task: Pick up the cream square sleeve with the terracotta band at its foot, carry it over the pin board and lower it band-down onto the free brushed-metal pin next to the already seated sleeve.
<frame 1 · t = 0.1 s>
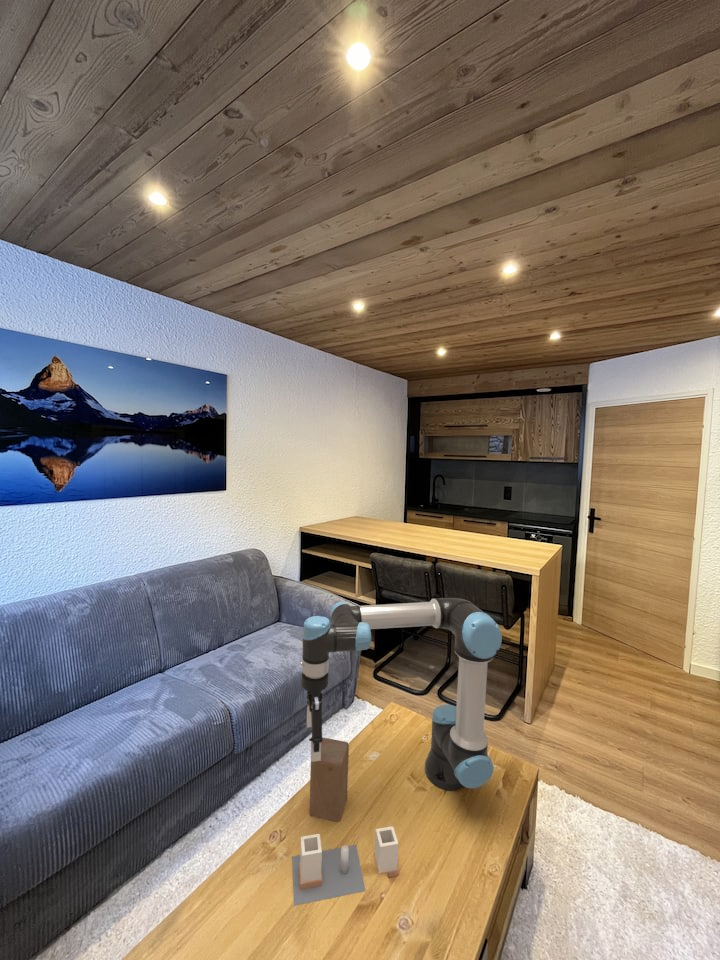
hand: (313, 742, 116), 28 cm above the table, fingers open, 13 cm apart
sleeve b: (310, 876, 104), point 1 cm above the table, touching pin board
wooden block: (328, 810, 125), on the table
sleeve a: (385, 866, 109), on the table
pin board: (327, 878, 105), on the table
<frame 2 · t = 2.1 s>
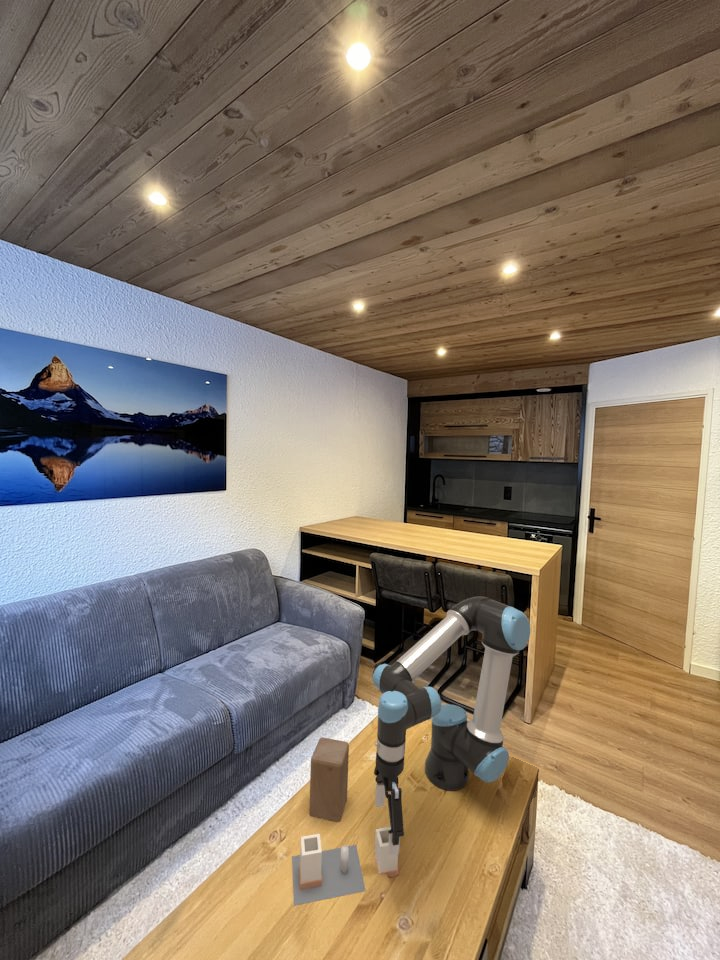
hand: (386, 827, 107), 12 cm above the table, fingers open, 13 cm apart
nothing on the table moved.
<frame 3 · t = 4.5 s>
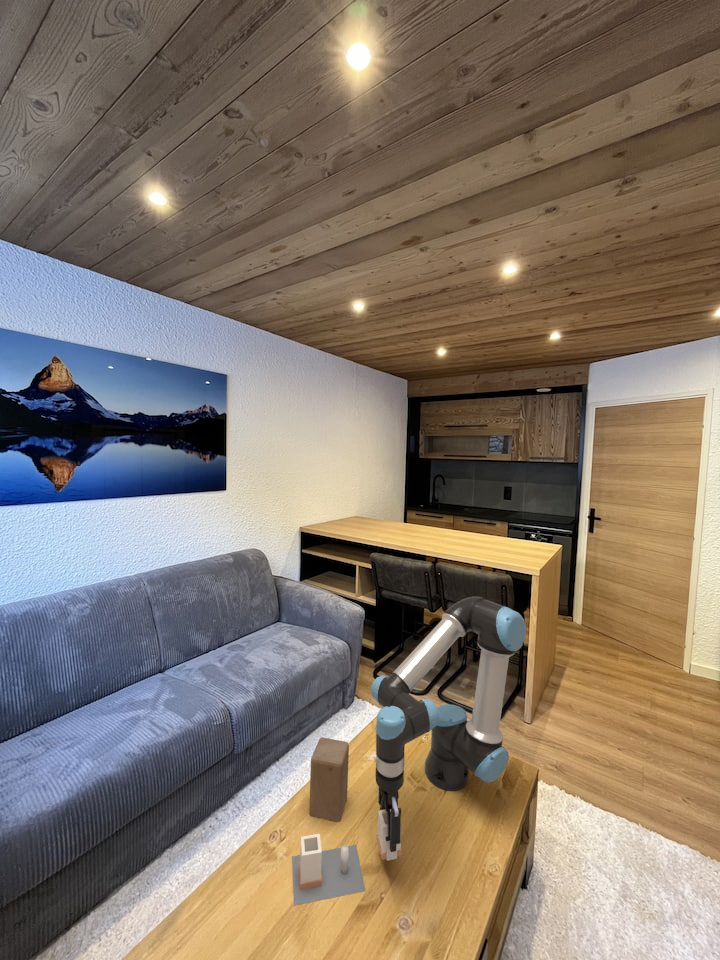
hand: (388, 846, 108), 6 cm above the table, fingers closed on sleeve a, 5 cm apart
sleeve a: (389, 847, 109), point 5 cm above the table, touching gripper
everything else where it was.
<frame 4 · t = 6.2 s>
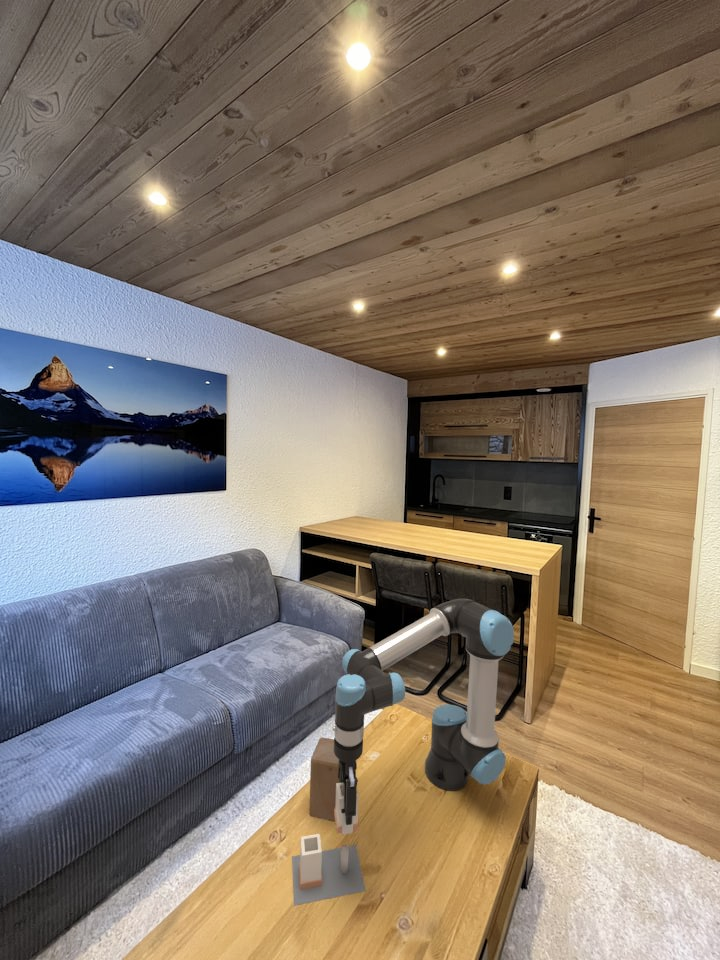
hand: (345, 821, 105), 15 cm above the table, fingers closed on sleeve a, 5 cm apart
sleeve a: (346, 821, 105), point 15 cm above the table, touching gripper
everything else where it was.
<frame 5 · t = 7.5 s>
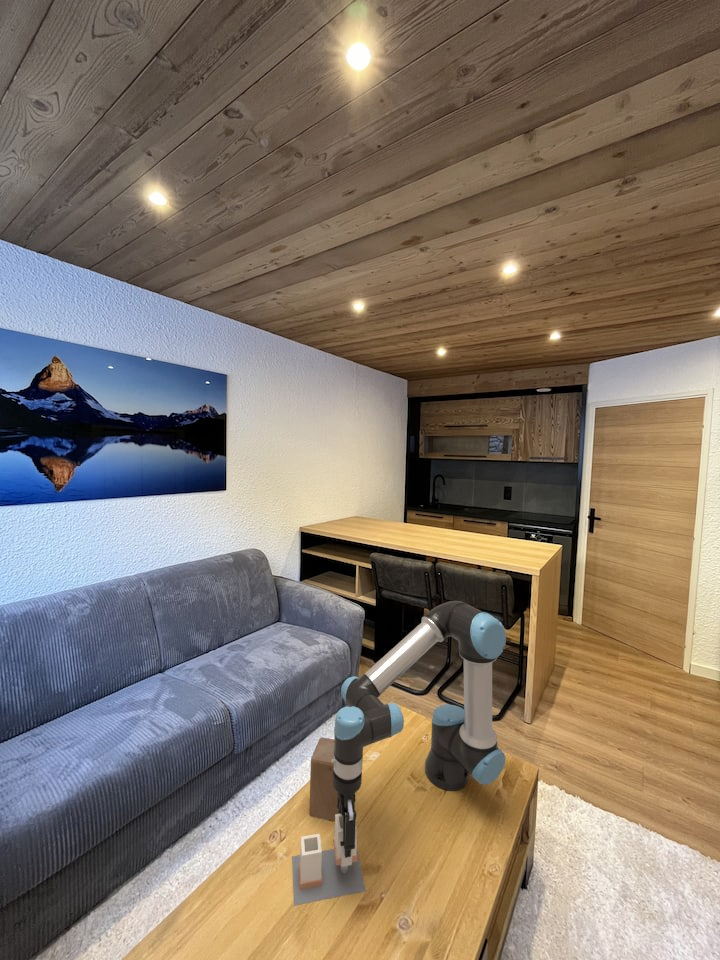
hand: (344, 852, 106), 7 cm above the table, fingers closed on sleeve a, 5 cm apart
sleeve a: (345, 853, 106), point 6 cm above the table, touching gripper
everything else where it was.
when the fingers open (3 cm above the table, at t = 8.4 s): sleeve a drops 2 cm, resting on pin board.
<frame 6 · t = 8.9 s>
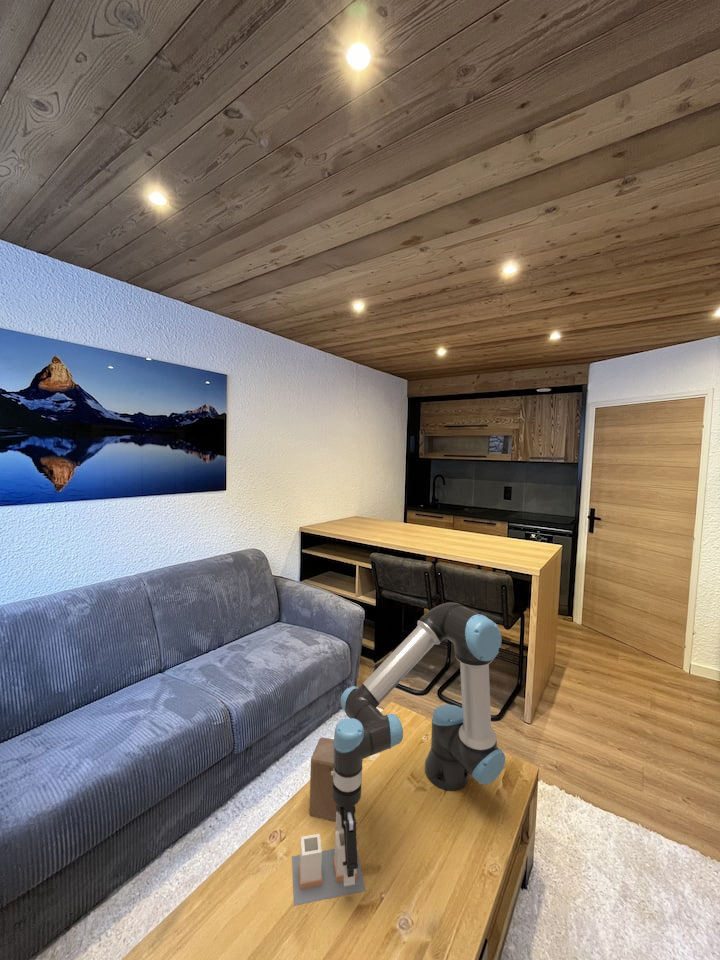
hand: (344, 857, 106), 5 cm above the table, fingers open, 12 cm apart
sleeve a: (345, 869, 106), point 1 cm above the table, touching pin board
everything else where it was.
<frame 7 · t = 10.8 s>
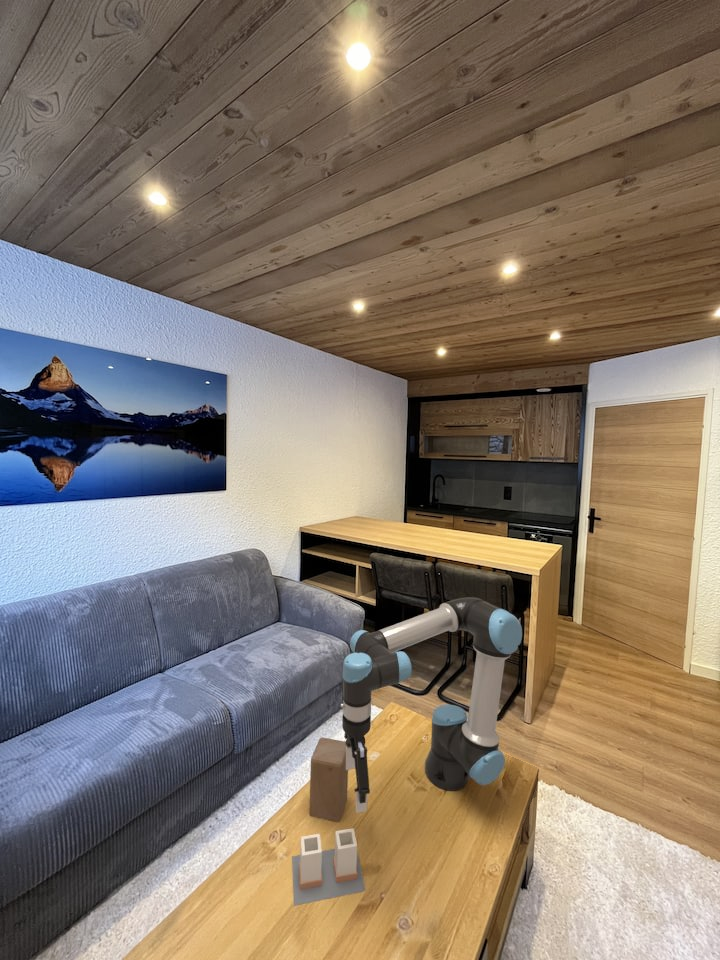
hand: (355, 788, 107), 22 cm above the table, fingers open, 13 cm apart
nothing on the table moved.
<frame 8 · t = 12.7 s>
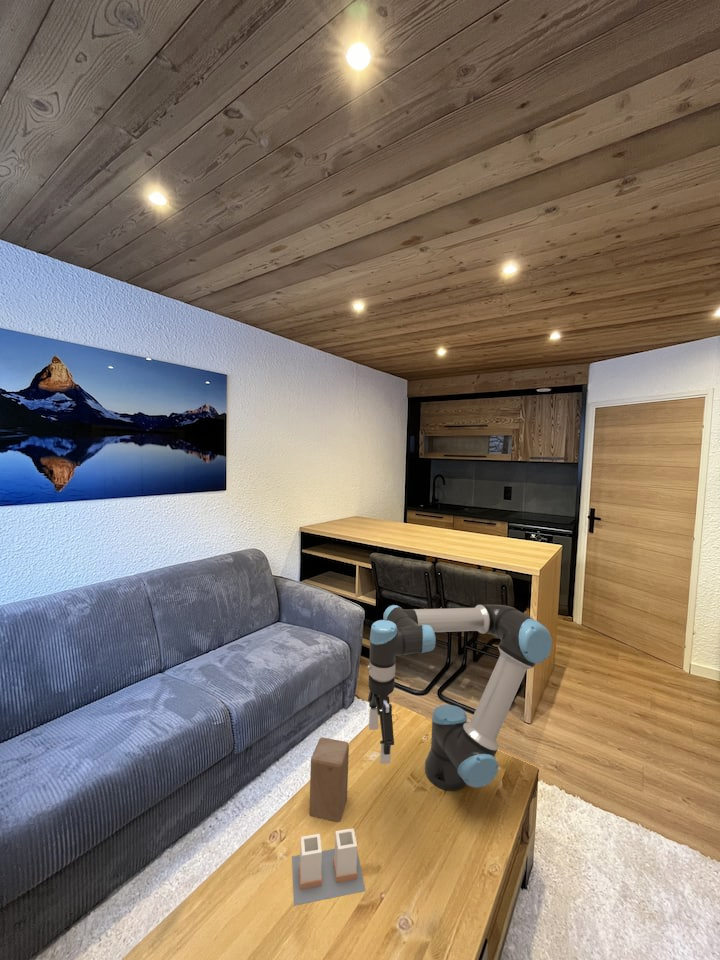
hand: (379, 744, 117), 27 cm above the table, fingers open, 13 cm apart
nothing on the table moved.
at the end: sleeve a 0.2 cm from the target spot on the pin board, point 1.5 cm above the pin board's base; sleeve a tilted 0°; sleeve b moved 0.1 cm from its start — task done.
